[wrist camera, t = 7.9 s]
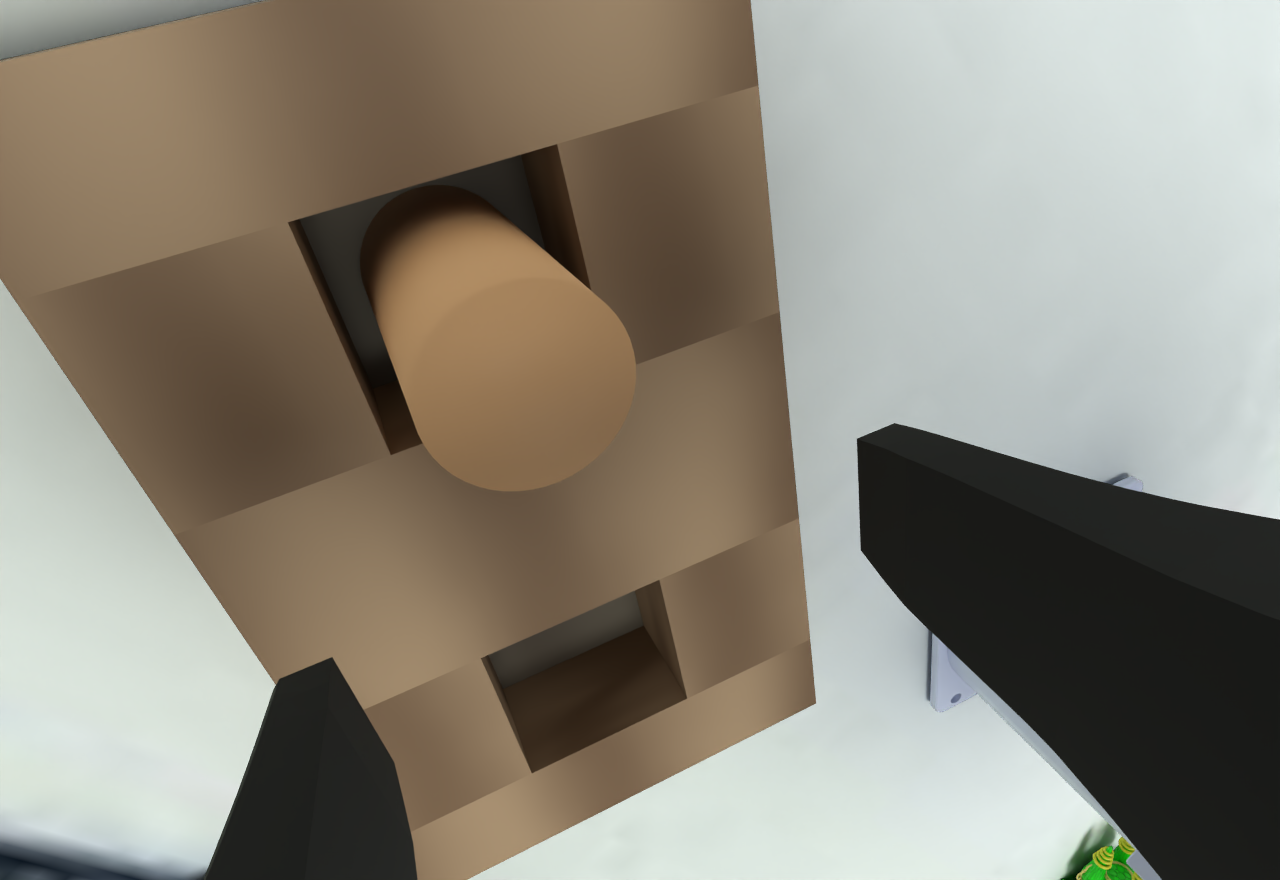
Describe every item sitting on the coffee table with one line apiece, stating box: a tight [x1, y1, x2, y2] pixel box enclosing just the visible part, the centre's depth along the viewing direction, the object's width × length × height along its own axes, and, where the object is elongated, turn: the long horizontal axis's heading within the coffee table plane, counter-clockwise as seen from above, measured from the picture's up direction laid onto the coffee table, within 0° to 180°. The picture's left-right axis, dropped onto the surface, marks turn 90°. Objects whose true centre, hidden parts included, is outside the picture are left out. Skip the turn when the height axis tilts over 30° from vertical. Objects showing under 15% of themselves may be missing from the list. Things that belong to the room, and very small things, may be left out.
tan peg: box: [360, 185, 636, 491], centre depth 14 cm, size 3×3×6 cm
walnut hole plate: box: [0, 0, 816, 880], centre depth 18 cm, size 12×20×4 cm, turn 11°
